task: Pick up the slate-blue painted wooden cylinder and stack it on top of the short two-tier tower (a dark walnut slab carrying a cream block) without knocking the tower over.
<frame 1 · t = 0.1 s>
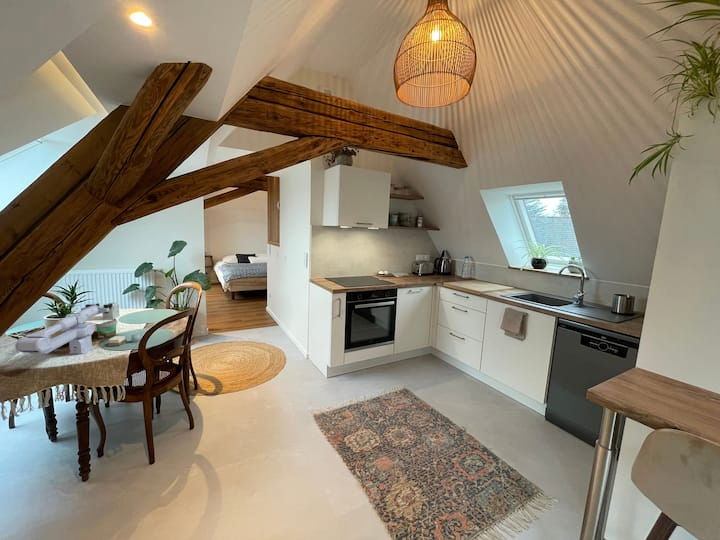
hand: (105, 305, 187), 22 cm above the table, tool horizontal, fingers open, 7 cm apart
cylinder: (136, 341, 187), on the table
top block: (117, 341, 181), point 2 cm above the table, touching base slab
food container: (110, 336, 193), on the table
base slab: (117, 344, 182), on the table, touching top block
light bulb box: (111, 318, 226), on the table
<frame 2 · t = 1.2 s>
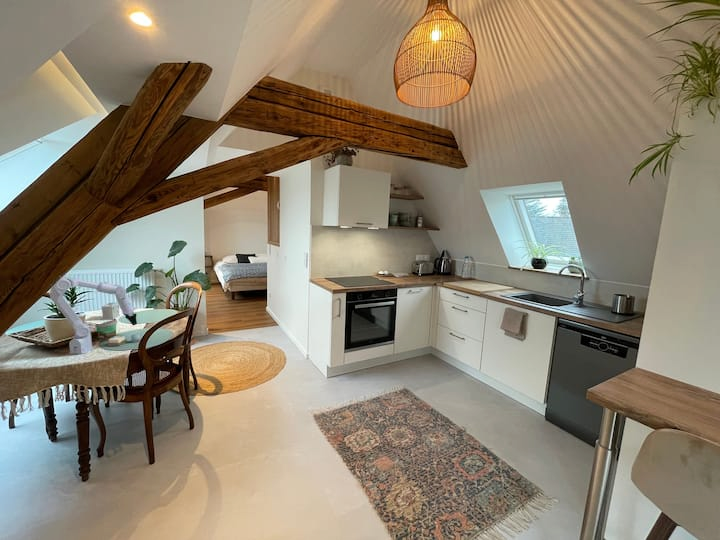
hand: (133, 323, 188), 11 cm above the table, tool tilted 15°, fingers open, 7 cm apart
nothing on the table moved.
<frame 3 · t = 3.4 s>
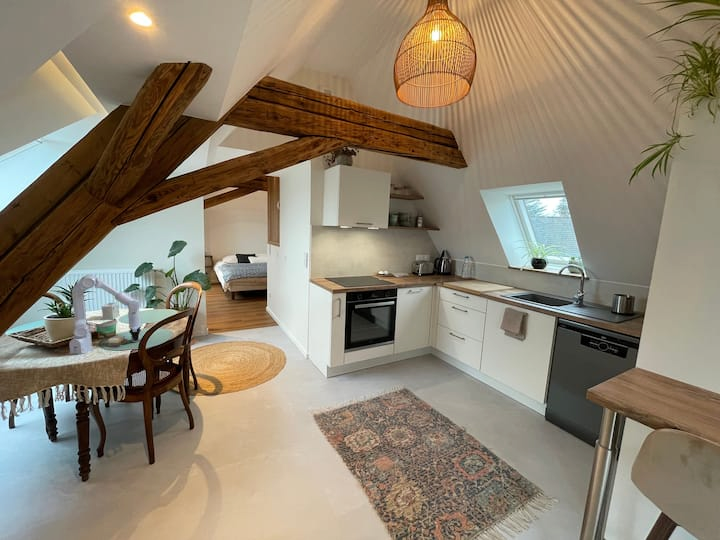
hand: (135, 339, 187), 1 cm above the table, tool pointing down, fingers closed on cylinder, 4 cm apart
cylinder: (136, 341, 187), on the table, touching gripper
everything else where it was.
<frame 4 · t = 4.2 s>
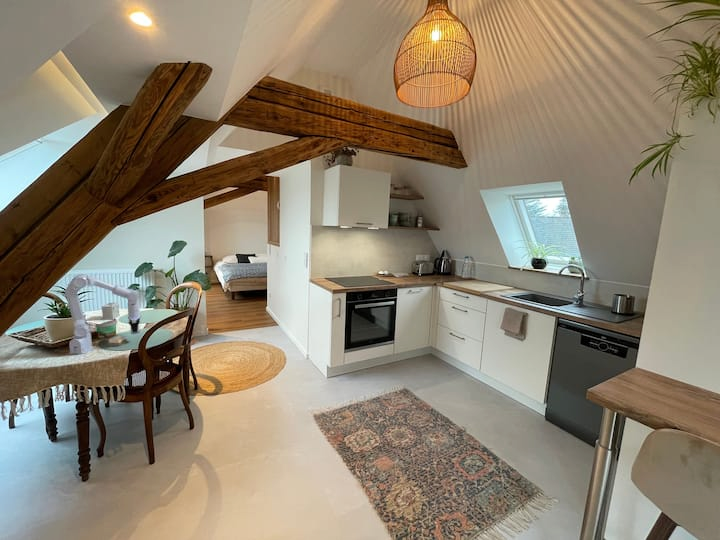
hand: (135, 330, 186), 7 cm above the table, tool pointing down, fingers closed on cylinder, 4 cm apart
cylinder: (135, 332, 186), point 6 cm above the table, touching gripper
everything else where it was.
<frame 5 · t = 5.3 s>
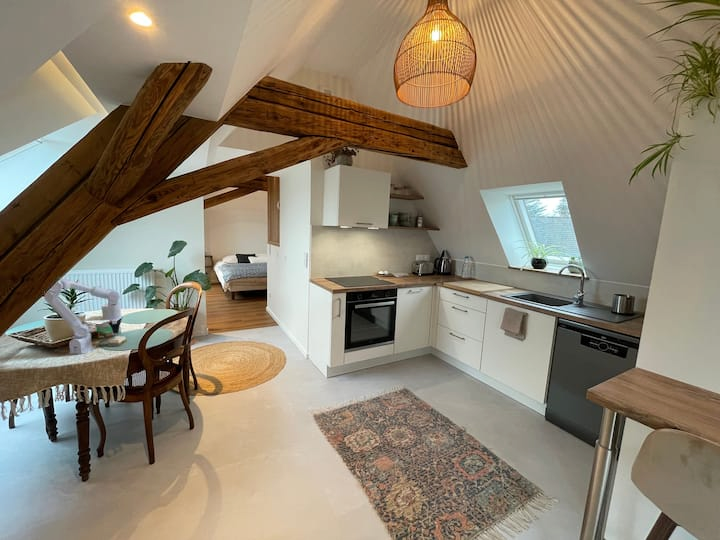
hand: (116, 331, 180), 8 cm above the table, tool pointing down, fingers closed on cylinder, 4 cm apart
cylinder: (116, 334, 181), point 7 cm above the table, touching gripper
everything else where it was.
when the fingers open (7 cm above the table, at t = 5.9 s): cylinder drops 2 cm, resting on top block.
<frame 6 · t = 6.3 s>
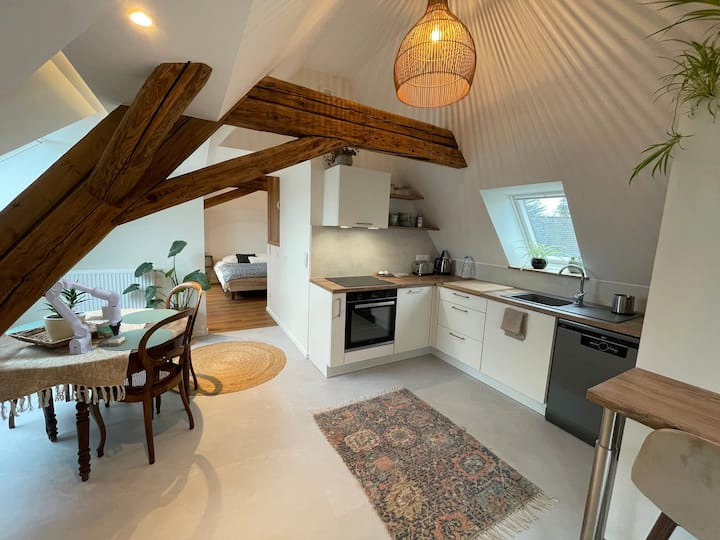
hand: (116, 333, 181), 7 cm above the table, tool pointing down, fingers open, 7 cm apart
cylinder: (116, 338, 181), point 4 cm above the table, touching top block
top block: (116, 341, 181), point 2 cm above the table, touching base slab, cylinder
everything else where it was.
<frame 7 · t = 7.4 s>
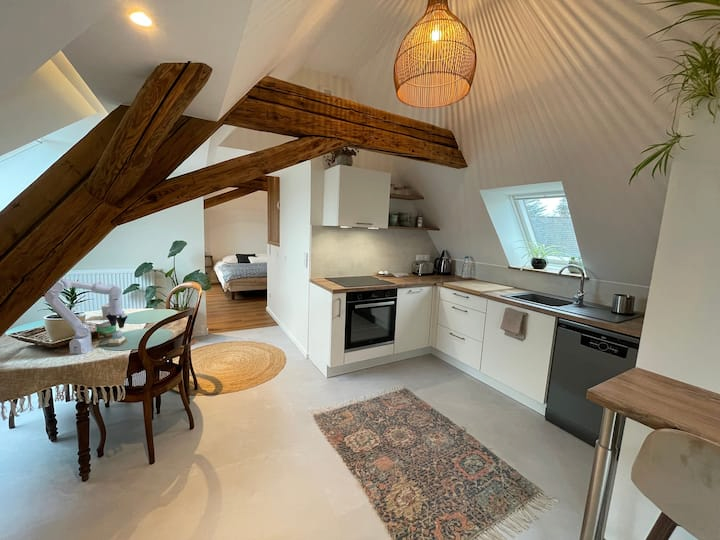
hand: (117, 326, 182), 10 cm above the table, tool pointing down, fingers open, 7 cm apart
nothing on the table moved.
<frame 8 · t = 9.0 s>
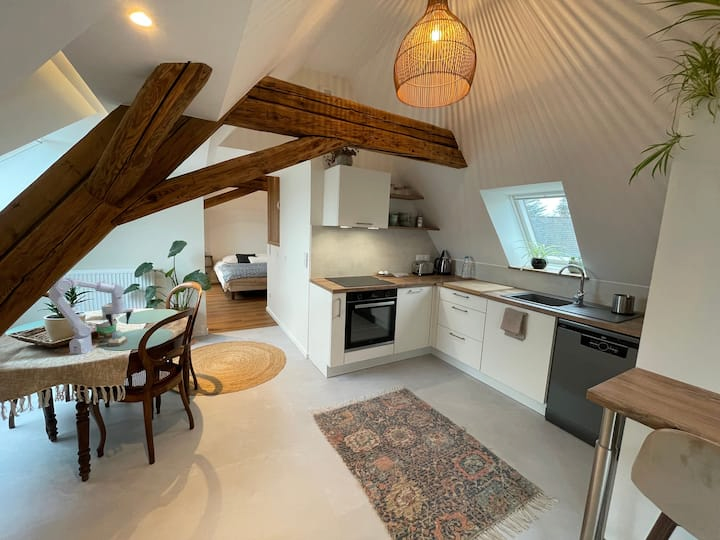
hand: (119, 324, 185), 10 cm above the table, tool pointing down, fingers open, 7 cm apart
nothing on the table moved.
at the end: cylinder 0.1 cm off-centre on the top block, point 2.0 cm above the top block's base; top block 0.2 cm off-centre on the base slab, point 2.5 cm above the base slab's base; base slab moved 0.7 cm from its start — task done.
